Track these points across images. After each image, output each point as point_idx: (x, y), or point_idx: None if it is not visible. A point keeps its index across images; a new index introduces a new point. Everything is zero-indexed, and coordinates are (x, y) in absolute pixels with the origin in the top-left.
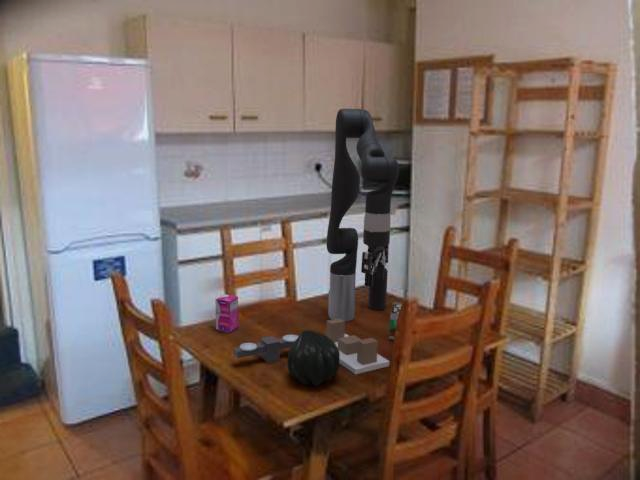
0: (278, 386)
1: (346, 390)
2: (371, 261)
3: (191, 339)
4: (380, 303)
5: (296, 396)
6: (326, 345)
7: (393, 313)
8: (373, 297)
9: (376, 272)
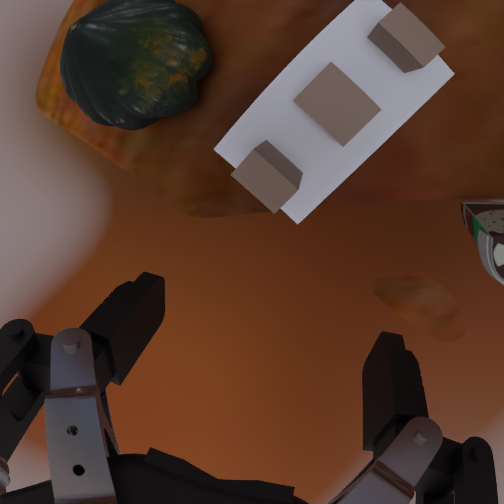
0: None
1: (140, 152)
2: (10, 453)
3: None
4: None
5: None
6: (92, 102)
7: (490, 248)
8: None
9: (389, 364)
